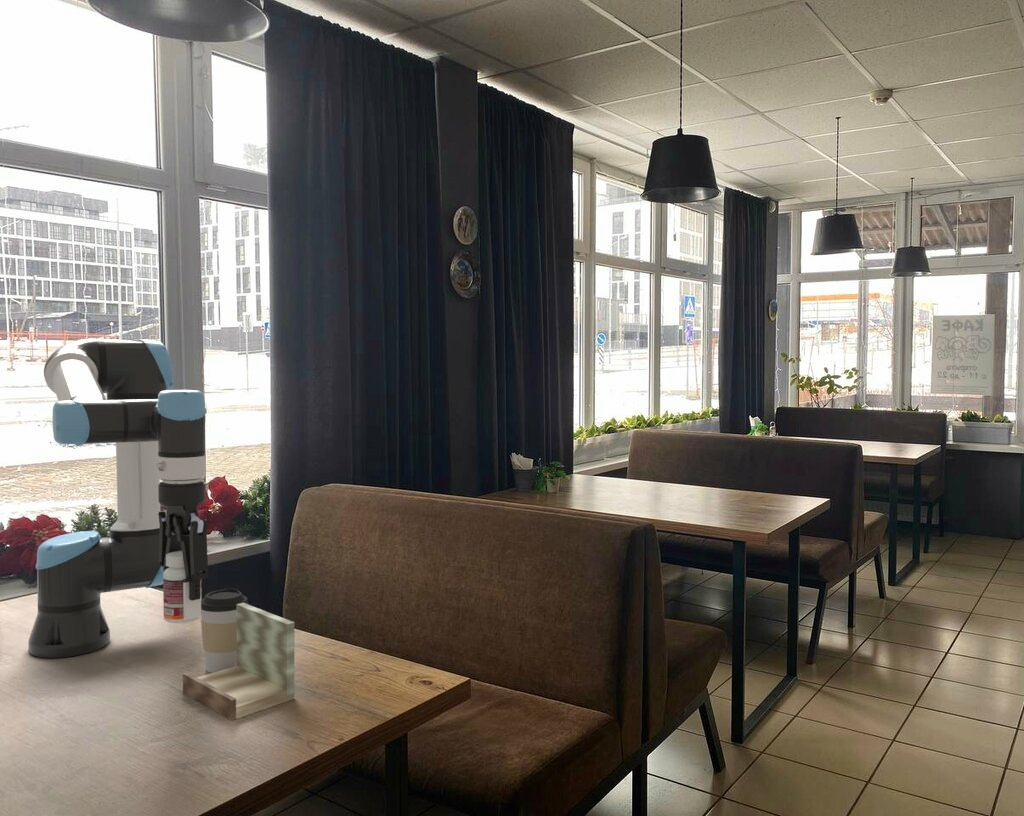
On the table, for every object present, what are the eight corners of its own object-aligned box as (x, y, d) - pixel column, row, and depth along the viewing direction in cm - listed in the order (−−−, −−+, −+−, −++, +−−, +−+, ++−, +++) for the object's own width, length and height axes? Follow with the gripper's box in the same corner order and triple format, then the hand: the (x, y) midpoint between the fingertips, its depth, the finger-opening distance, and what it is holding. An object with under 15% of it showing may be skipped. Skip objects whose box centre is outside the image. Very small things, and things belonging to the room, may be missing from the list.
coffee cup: (232, 677, 158) (232, 600, 157) (190, 673, 159) (189, 597, 158) (256, 660, 166) (256, 587, 165) (216, 656, 168) (215, 584, 167)
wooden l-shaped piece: (182, 692, 150) (182, 617, 149) (243, 673, 159) (243, 602, 159) (231, 720, 139) (231, 639, 138) (294, 698, 148) (294, 622, 147)
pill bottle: (202, 622, 140) (201, 556, 140) (162, 625, 138) (162, 559, 137) (201, 611, 146) (201, 548, 145) (163, 615, 144) (163, 551, 143)
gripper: (136, 476, 145) (137, 605, 146) (186, 489, 131) (187, 631, 133) (178, 472, 150) (179, 597, 151) (230, 484, 137) (230, 621, 138)
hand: (183, 613), depth 142 cm, fingers closed on pill bottle, 6 cm apart
